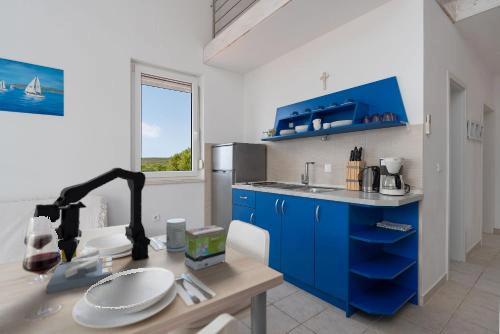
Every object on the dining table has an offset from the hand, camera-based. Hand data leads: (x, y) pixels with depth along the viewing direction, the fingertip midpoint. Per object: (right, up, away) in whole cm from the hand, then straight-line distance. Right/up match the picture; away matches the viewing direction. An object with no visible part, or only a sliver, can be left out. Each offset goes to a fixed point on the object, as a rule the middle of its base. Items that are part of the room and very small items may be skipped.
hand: (68, 261), depth 92 cm
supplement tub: (+31, -6, +32) cm, 45 cm away
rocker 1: (+1, -1, +8) cm, 8 cm away
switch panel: (+4, -6, +2) cm, 8 cm away
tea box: (+49, -6, +14) cm, 52 cm away
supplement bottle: (-12, -7, +16) cm, 21 cm away
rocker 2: (+4, -1, +2) cm, 5 cm away
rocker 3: (+7, -1, -3) cm, 8 cm away
